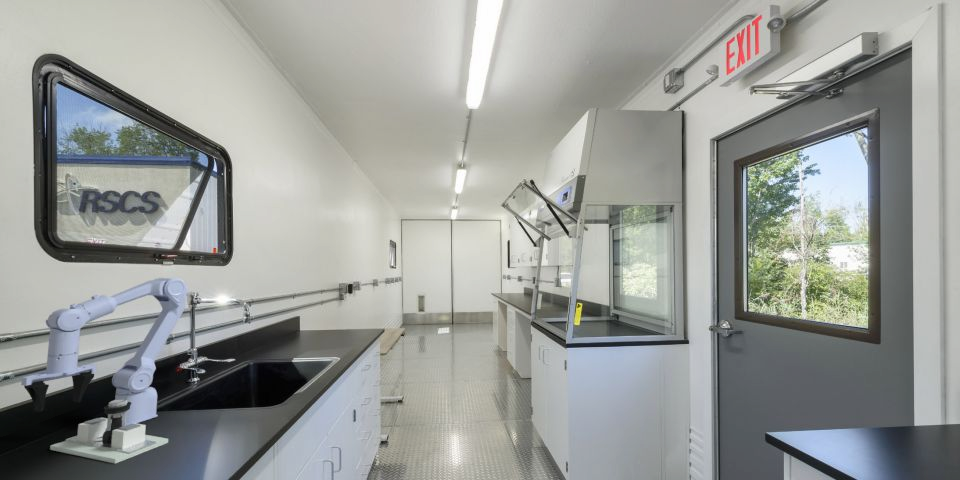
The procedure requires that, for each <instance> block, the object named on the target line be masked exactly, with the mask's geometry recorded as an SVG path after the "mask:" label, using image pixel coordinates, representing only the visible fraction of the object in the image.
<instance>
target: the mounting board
mask: <svg viewBox="0 0 960 480" xmlns="http://www.w3.org/2000/svg"><path fill="white" fill-rule="evenodd" d="M145 440H149V441H154V442H156V444H154V445H151V446H148V447H146V448H143V449H141V450H138V451H135V452H133V453H130V454H129V453H124V452H119V451H114V450H109V449H104V448H99V447H94V446H89V445H84V444H79V443H74V442H69V441H66V440H64V441H61V442H57V443H54V444H51V445H50V446H49V447H50V448H49V450H51V451H54V452H55V451H56V452H60V453H63V454H68V455H74V456H79V457H82V458H87V459H92V460H96V461H101V462H105V463H106V462H107V463H110V464H118V463H120V462H123V461H126V460H127V459H130V458H133V457H135V456H138V455H142V453H145V452H148V451H150V450H153V449H155V448H158V447H161V446H164V445H166V444H168V443H169V438H165V437H161V436H154V435H150V434H149V435H148V434H145Z"/></svg>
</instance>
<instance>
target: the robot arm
mask: <svg viewBox="0 0 960 480" xmlns="http://www.w3.org/2000/svg"><path fill="white" fill-rule="evenodd" d="M188 292H189V288H188V286H187V283H186V282H185V281H184V280H183V279H182V278H179V277H174V278H164V277H157V278H155V279H151V280H147V281H145V282H143V283H139V284H137V285H135V286H133V287H131V288H128V289H126V290H123V291H120V292H118V293H115V294H114V295H112V296H108V295H106V294H103V295H99V294H96V295H93V296H91V297H90V299H88V300H85V301H81V302H80V303H72V304H70V305H69V306H70V307H69V308H60V309H56V310H54V311H53V312H52V313H51V314H49V316H48V318H47V319H46V320H45V325H46V327H48V328H49V329H50V330H49V337H48V347H47V349H48V350H47V356H46V357H47V358H46V368H45V369H46V370H45V371H44V372H40V373H35V374H32V375H31V374H30V375H28V376H27V375H26V376H22V377H21V386H24V389H25V390H26V391H27V393H28V394H29V396H30V398H31V400H32V403H33V408H34V412H40V413H41V412H43V411H44V409H45V405H46V404H45V403H46V396H47V391H48V389H49V386H50V385H49V384H46V382H49V381H50V382H51V381H54V380H59V379H64V378H68V377H71V379H72V386H73V387H72V388H73V390H72V402H73V403H81V402H82V399H83V396H84V394H85V392H86V389H87V388H88V386H89V385H90V383H91V382H92V380H94V378H95V373H96V372H98V371H97V370H98V365H97V364H89V365H81V366H78V364H79V363H78V361H79V349H80V348H79V347H80V340H81V339H80V337H81V336H80V335H81V334H80V333H81V328H83V327H84V326H85V325H86V324H88V323H90V322H92V321H95V320H98V319H100V318H103V317H106V316H108V315H109V314H112V313H114V312H115V310H116V309H117V307H118V306H121V305H125V304H126V303H129V302H133V301H135V300H138V299H140V298H143V297H144V298H145V297H146V296H152V297H154V298H155V299H156V300H157V301H158V302H159V304H160V306H161V309H162V310H161V312H160V313H159V315H158V316H157V318H156V320H155V321H154V322H153V325H152V326H151V327H150V330H149V331H148V333H147V335H146V336H145V338H144V339H143V341H142V342H141V344H140V346H139V348H138V349H137V350H136V353H135V354H134V356H133V357H130V358H129V359H128V360H127V361H125V363H124V364H123V366H122V367H121V368H119V369H118V370H117V371H116V372H115V373H114V375H113V376H112V378H111V384H112V386H114V387H115V388H116V390H115V396H114V397H115V399H114V400H118V399H127V402H131V405H130V409H129V410H128V411H126V423H125V425H129V424H134V423H137V424H140V423H142V422H145V421H147V420H151V419H153V418H157V417H158V416H159V415H158V414H157V406H158V392H157V390H156V388H155V387H152V386H150V385H152V383H153V379H154V374H155V371H156V370H157V367H156V364H155V361H156V359H157V358H158V356H159V354H160V352H161V351H162V349H163V347H164V345H165V343H166V342H167V340H168V339H169V336H170V335H171V333H172V332H173V330H174V328H175V326H176V325H177V323H178V321H179V319H180V318H181V316H182V315H183V313H184V312H185V308H186V300H187V299H186V298H187V297H186V295H187V294H188ZM121 416H122V419H123V413H122V414H121ZM111 423H112V420H111Z"/></svg>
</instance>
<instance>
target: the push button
mask: <svg viewBox="0 0 960 480" xmlns="http://www.w3.org/2000/svg"><path fill="white" fill-rule="evenodd" d="M130 405H131V402H127V399H118V400H115V399H114V400H111V401H109V402H108V404H107V405H104V407H103V410H104V414H105V415H107V419H108V420H107V428H106V429H105V432H104V434H103V436H102V437H98V438H94V439H99V438H102V440H100V441H96V442H94V443H97V442H102V443H103V444H106V443H111V442H112V432H113V430H115V429H118V428H120V427H123V426H126V425H125V423H126V411H128V410H129V409H130ZM122 413H123V419H122V416H121V414H122ZM111 421H112V423H111ZM110 427H111V429H110Z"/></svg>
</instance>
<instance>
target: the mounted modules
mask: <svg viewBox="0 0 960 480" xmlns="http://www.w3.org/2000/svg"><path fill="white" fill-rule="evenodd" d="M107 420H108V417H107V418H106V417H96V418H93V419H88V420H85V421H84V422H82V423H81V422H80V423H79V424H77V425H78V426H77V435H76V436H77V440H79V441H84V442H89V441H92V440H95V439H94V438H98V437H102V436H103V434H104V432H105V429H106V428H107ZM146 427H147V426H146V424H144V423H143V424H141V423H134V424H129V425H126V426H123V427H120V428H118V429H115V430H113V432H112V445H111V447H114V448H119V449H124V448H127V447H129V446H132V445H135V444H138V443H140V442H143V441H145V435H146ZM110 429H111V427H110Z"/></svg>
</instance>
